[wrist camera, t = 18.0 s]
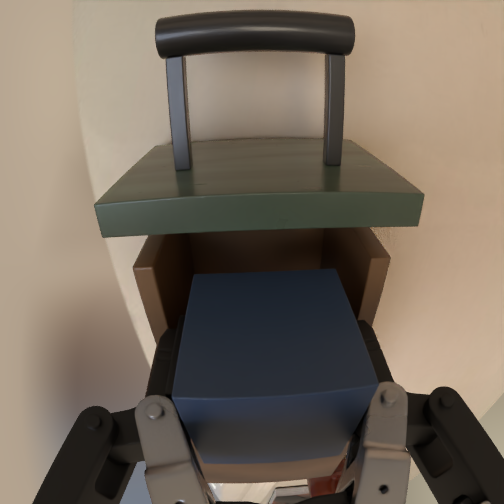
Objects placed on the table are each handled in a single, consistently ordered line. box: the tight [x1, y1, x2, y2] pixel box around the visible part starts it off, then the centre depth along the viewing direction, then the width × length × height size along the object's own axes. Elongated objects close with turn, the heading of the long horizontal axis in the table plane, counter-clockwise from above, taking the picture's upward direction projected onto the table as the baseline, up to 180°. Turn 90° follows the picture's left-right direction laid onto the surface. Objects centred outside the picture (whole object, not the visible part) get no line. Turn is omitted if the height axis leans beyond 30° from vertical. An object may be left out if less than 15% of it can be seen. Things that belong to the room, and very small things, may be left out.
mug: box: [307, 458, 345, 498], centre depth 38 cm, size 12×9×10 cm
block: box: [172, 269, 379, 464], centre depth 10 cm, size 5×5×5 cm
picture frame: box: [269, 486, 310, 504], centre depth 56 cm, size 16×2×22 cm
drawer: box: [94, 10, 424, 347], centre depth 14 cm, size 19×10×8 cm, turn 1°
